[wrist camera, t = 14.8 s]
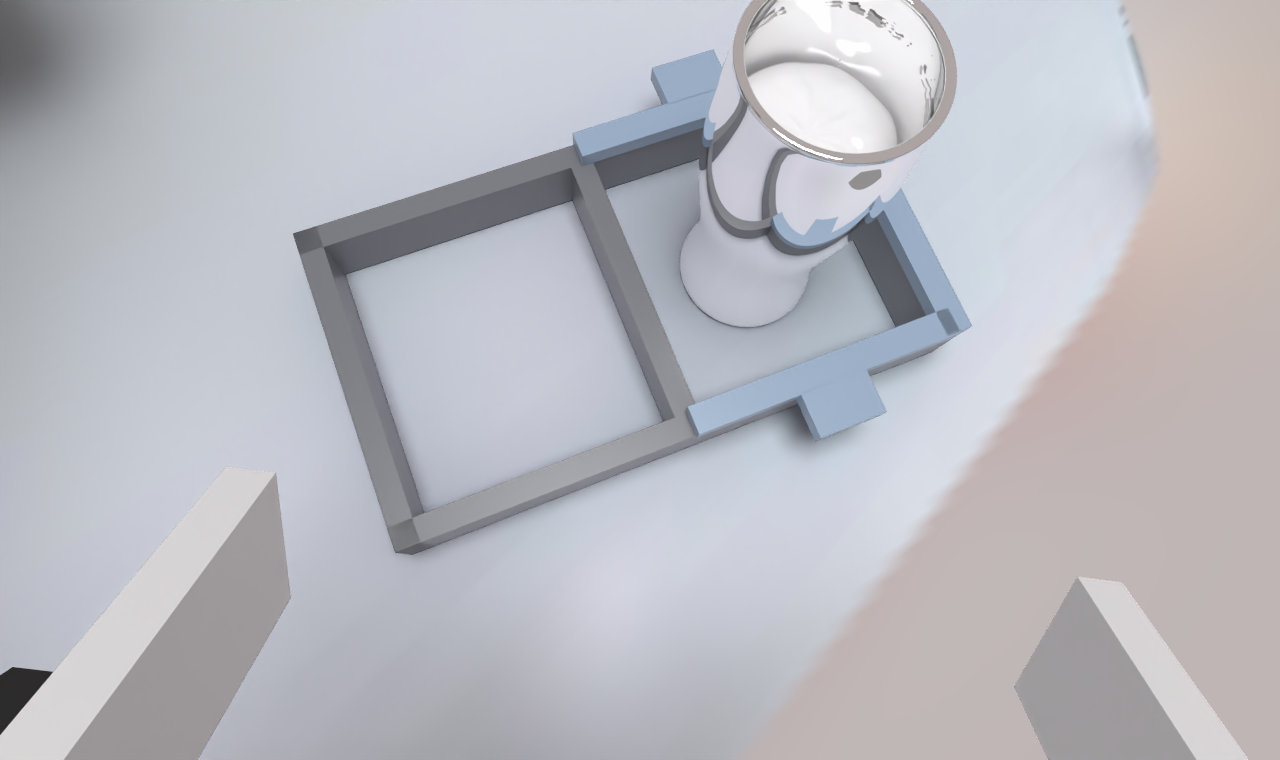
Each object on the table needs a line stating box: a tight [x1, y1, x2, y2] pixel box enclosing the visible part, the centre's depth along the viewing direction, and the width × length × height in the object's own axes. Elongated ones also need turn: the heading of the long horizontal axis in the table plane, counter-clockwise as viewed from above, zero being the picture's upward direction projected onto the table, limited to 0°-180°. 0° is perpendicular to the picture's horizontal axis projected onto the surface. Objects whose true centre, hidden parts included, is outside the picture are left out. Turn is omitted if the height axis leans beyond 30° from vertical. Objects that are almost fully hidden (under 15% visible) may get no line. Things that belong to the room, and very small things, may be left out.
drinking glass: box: [680, 0, 957, 327], centre depth 29 cm, size 7×7×15 cm
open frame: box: [293, 50, 972, 555], centre depth 34 cm, size 18×25×4 cm
